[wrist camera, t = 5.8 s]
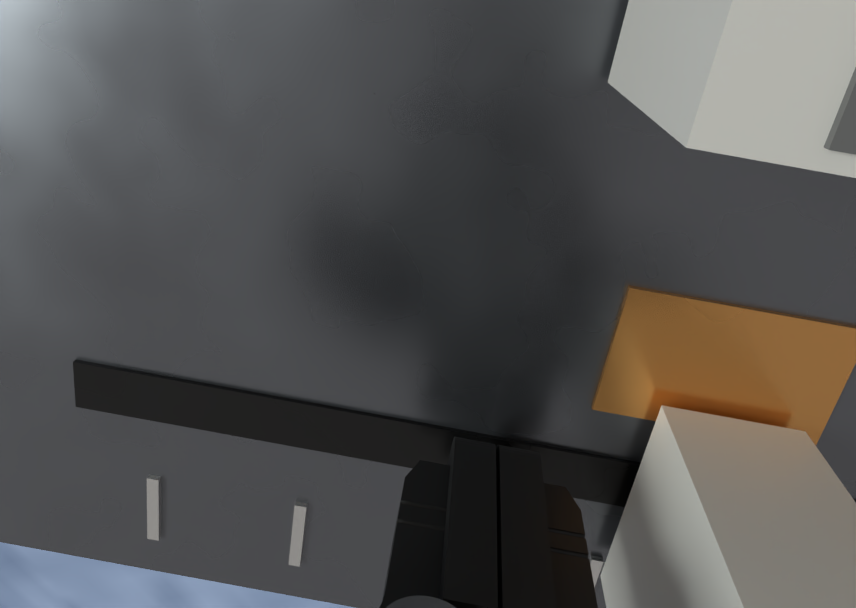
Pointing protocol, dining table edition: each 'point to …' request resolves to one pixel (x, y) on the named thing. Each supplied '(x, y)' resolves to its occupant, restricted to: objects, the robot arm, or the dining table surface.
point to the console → (373, 277)
